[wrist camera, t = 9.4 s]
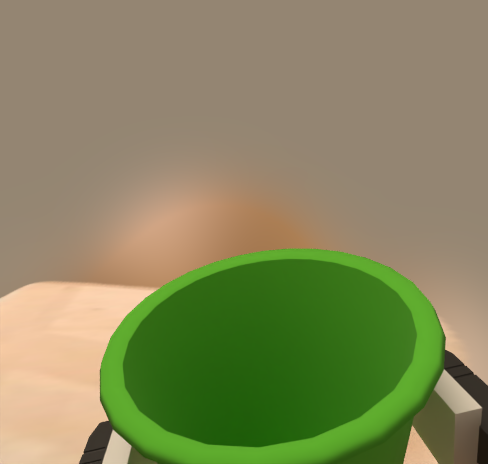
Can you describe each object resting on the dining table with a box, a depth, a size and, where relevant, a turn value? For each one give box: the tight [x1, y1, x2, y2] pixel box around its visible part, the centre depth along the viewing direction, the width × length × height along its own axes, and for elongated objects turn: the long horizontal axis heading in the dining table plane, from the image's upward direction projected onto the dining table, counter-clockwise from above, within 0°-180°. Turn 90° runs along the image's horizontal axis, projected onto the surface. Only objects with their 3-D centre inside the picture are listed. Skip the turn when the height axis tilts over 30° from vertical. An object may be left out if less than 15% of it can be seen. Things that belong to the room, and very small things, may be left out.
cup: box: [100, 249, 446, 464], centre depth 11 cm, size 9×9×11 cm
